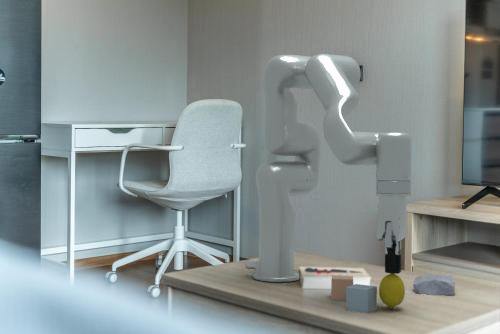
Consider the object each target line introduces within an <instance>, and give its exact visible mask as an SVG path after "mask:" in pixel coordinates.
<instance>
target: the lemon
mask: <svg viewBox="0 0 500 334" xmlns="http://www.w3.org/2000/svg"><path fill="white" fill-rule="evenodd" d="M378 293H379V299H380V300H381V302H382V304H384V305H386V306H387V307H388V308H389V310H392V309H394V308H395V307H397V306H399V305H400V304H401V303H403V300H404V298H405V294H406V289H405V284H404V281H403V279H402V278H401V277H400V276H399V275H398V274H395V273H388V274H387V275H385V276H384V277H382V279H381V280H380V284H379V287H378Z"/></svg>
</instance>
